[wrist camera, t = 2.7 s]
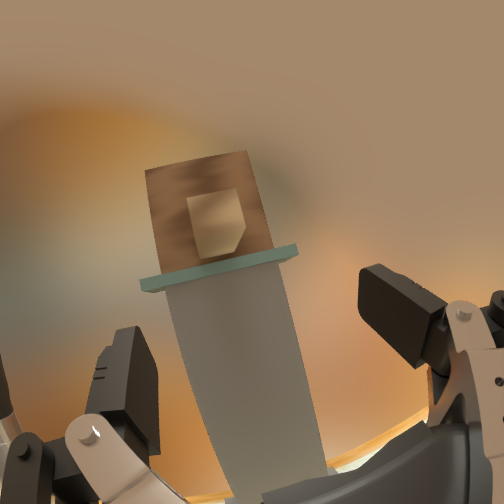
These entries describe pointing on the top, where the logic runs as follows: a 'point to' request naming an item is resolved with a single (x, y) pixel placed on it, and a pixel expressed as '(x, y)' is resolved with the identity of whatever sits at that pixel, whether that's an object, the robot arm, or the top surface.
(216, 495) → the top surface
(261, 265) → the stand
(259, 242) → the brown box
